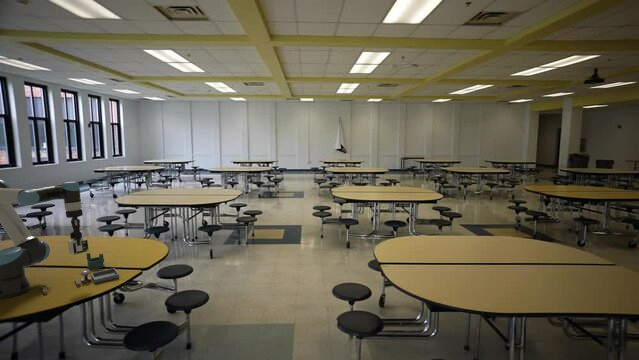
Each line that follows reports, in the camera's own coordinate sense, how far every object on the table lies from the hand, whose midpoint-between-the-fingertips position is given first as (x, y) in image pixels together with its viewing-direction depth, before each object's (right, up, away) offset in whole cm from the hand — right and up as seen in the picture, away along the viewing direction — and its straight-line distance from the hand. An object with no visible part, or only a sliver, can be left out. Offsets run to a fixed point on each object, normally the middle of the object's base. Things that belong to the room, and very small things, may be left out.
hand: (78, 249), depth 190 cm
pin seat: (-8, -21, -2) cm, 22 cm away
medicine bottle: (0, -2, 0) cm, 2 cm away
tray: (+8, -19, +10) cm, 23 cm away
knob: (0, -20, +7) cm, 21 cm away
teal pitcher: (-8, -17, +28) cm, 34 cm away
